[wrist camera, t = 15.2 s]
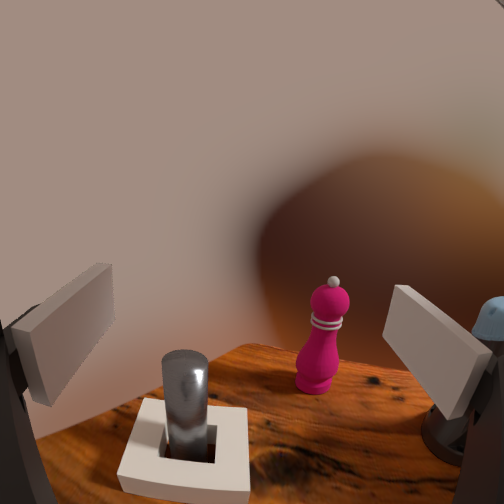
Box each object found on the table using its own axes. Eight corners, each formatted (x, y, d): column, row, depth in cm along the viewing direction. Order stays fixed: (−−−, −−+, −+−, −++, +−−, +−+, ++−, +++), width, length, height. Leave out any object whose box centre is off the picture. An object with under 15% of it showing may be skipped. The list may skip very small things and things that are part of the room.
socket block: (244, 427, 40) (246, 408, 39) (247, 507, 26) (250, 491, 25) (147, 417, 39) (144, 397, 38) (123, 491, 25) (116, 474, 24)
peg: (208, 449, 35) (209, 351, 31) (206, 475, 30) (206, 377, 26) (174, 445, 34) (166, 347, 30) (169, 470, 30) (157, 372, 26)
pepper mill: (283, 380, 52) (300, 271, 47) (313, 368, 56) (333, 267, 51) (311, 402, 46) (336, 287, 41) (340, 387, 50) (367, 280, 45)
